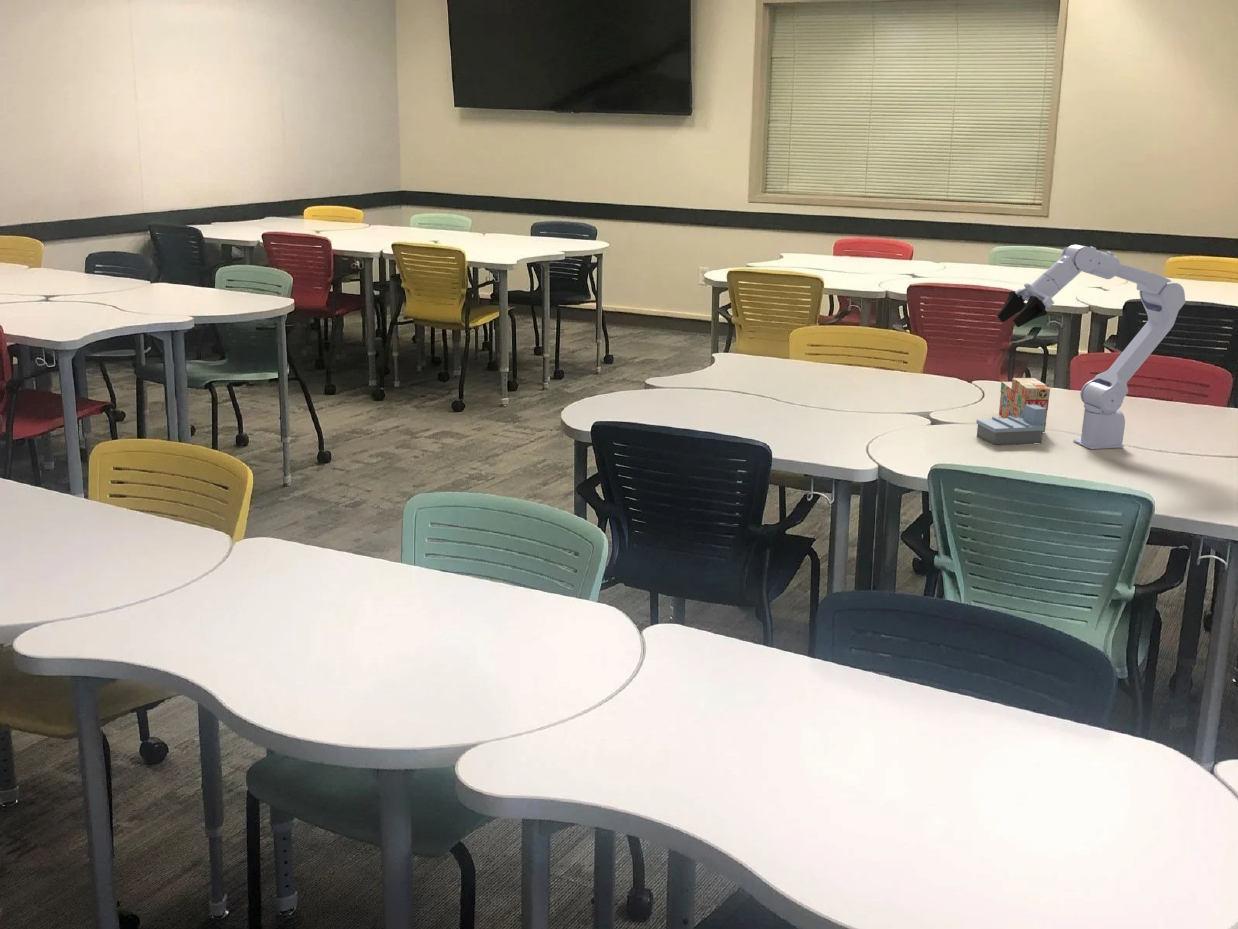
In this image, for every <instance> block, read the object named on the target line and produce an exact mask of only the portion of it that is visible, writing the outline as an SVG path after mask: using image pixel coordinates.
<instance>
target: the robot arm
mask: <svg viewBox="0 0 1238 929" xmlns="http://www.w3.org/2000/svg"><path fill="white" fill-rule="evenodd" d="M1080 273H1085V274H1089V275H1092V276H1096V277H1098V278H1102V279H1105V280H1111V279H1113V278H1115V277H1117V278H1120V279H1123V280H1125V281H1128V282H1131V283H1133V284H1136V290H1137V291H1139V298H1140V301H1141V303H1142V304H1143V305H1142V306H1143V307H1144V309H1145V312H1146V314H1147V315H1146V316H1147V321H1146V323H1145V324H1144V325H1143V326H1142V327H1141V329H1140V330H1139V331H1138V332H1137V334H1136V335H1135V336H1134V337H1133V339H1132V340H1131V341H1130V342H1129V343H1128V345H1127V346H1126V347H1125V349H1124V350H1123V351H1122V352H1121V354H1119V356H1118V357H1117V358H1116V359H1115V361H1114V362H1113V363H1111V366H1110V367H1109V368H1108V369H1107V370H1105V371H1103V372H1100V373H1098V374H1096V376H1095V375H1094V376H1095V377H1093V378H1092V379H1090V380H1089V381H1087V382H1086V383H1085V384H1083V386H1082V387H1081V390H1080V395H1079V396H1080V400H1081V401H1082V403H1083V408H1084V410H1083V419H1082V428H1081V436H1080V438H1075V439H1072V440H1073V442H1074V443H1077V444H1079V445H1080V446H1084V447H1086V448H1087V449H1090V450H1097V449H1099V450H1100V449H1115V448H1116V449H1117V448H1119V449H1120V448H1124V447H1125V445H1124V444H1123V442H1124V435H1125V434H1124V433H1125V429H1126V428H1125V426H1126V425H1125V424H1126V419H1125V414H1124V413H1123V412H1122V411H1121V410H1119V409H1120V408H1121V407H1122V405H1123V403H1124V399H1125V397H1126V396H1127V394H1128V393H1129V388H1128V382H1129V381H1130V380H1131V378H1132V377H1133V376H1134V375H1135V374H1136V372H1137V371H1138V370H1139V369H1140V368H1141V366H1142V365H1143V364H1144V363H1145V361H1146V360H1147V359H1149V356H1150V355H1151V354H1152V353H1153V351H1155V349H1156V348H1157V347H1158V345H1160V343H1161V342H1162V341H1163V340H1164V338H1165V337H1166V335H1167V334H1169V332H1170V331H1171V329H1172V328H1173V327H1174V325H1175V322H1176V320H1177V316H1178V314H1179V311H1180V310H1181V309H1182V308H1183V306H1184V305H1185V304H1186V294H1185V289H1184V287H1183V286H1182V285H1181V284H1180V283H1178V282H1172V280H1171V279H1169V278H1166V277H1164V276H1162V275H1159V274H1156V273H1154V272H1152V271H1151V272H1150V271H1147V270H1144V269H1141V268H1137V267H1134V266H1130V265H1126V264H1123V263H1121V260H1120V259H1119V257H1118V256H1116V255H1115V252H1112V251H1106V252H1103V251H1100V250H1097V247H1094V246H1086V245H1081V244H1071V245H1070V246H1068V247H1067V246H1066V247H1064V249H1063V250H1062V253H1061V255H1060V258H1059V259H1058V260H1056V262H1054V263H1053V264H1052V265H1051V266H1050V267H1049V268H1048V269H1047V270H1045V271H1044V273H1042V274H1041V275H1039V277H1037V278H1036V279H1035V280H1034V281H1033V282H1032V283H1031V284H1030V283H1027V282H1026V283H1025V284H1024V285H1023V287H1024V288H1022V289H1021V288H1018V289H1017V290H1016V291H1013V290H1011V291H1010V292H1009V293H1008V296H1007V300H1006V301H1005V303H1004V305H1003V306H1002V308H1001V309H1000V311H999V312H998V313H997V315H996V317H997V319H999V322H1001V323H1004V322H1006V321H1007V320H1009V319H1011V318H1012V317H1013V316H1014V317H1013V319H1012V322H1013V323H1014V325H1015V326H1016V327H1017V328H1020V327H1021V326H1023V325H1025V324H1028V323H1029V322H1030V321H1032V320H1033V321H1034V320H1035V319H1037V318H1040V317H1044V316H1047V315H1048V312H1047V310H1046V309H1049V308H1051V307H1052V306H1053V305H1054V304H1055V302H1054V300H1053V298H1054V297H1055V296H1056V295H1057V294H1059V292H1060V291H1062V290H1063V289H1064V288H1065V287H1066V286H1067V285H1068V284H1070V283H1071V281H1073V280H1074V279H1075V278H1076V277H1077V276H1078V275H1079V274H1080ZM1025 302H1026V303H1025Z"/></svg>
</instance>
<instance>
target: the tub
mask: <svg viewBox="0 0 1238 929" xmlns="http://www.w3.org/2000/svg"><path fill="white" fill-rule="evenodd" d="M1042 432H1043V431H1020V432H998V433H995V432H993V431H991V430H989V429H987V428H985V427H983V426H981V425H979V424H977V429H976V438H979V440H982V441H984V442H985V443H988V444H990V445H992V446H994V447H995V446H996V447H997V446H998V447H999V446H1018V445H1020V446H1021V445H1035V444H1034V443H1041V444H1042V441H1043V433H1042Z"/></svg>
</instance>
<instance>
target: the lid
mask: <svg viewBox="0 0 1238 929" xmlns="http://www.w3.org/2000/svg"><path fill="white" fill-rule="evenodd" d="M1045 414H1046V409H1045V408H1043V407H1041V406H1038V405H1036V404H1031V405H1025V409H1024V418H1014V417H1011V416H1008V418H1003V417H1002V418H1001V417H1000V418H999V417H996V416H992V417H991V418H985V419H984V418H982V419H979V418H977V419H976V423H975V424H977V425H978V424H979V425H981V426H983V427H985V428H987V429H989V430H991V431H993V432H995V433H998V432H1020V431H1043V430H1045V431H1046V427H1045V426H1043V425H1040V424H1044V423H1045Z"/></svg>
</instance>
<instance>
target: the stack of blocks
mask: <svg viewBox="0 0 1238 929" xmlns="http://www.w3.org/2000/svg"><path fill="white" fill-rule="evenodd" d="M1011 380H1012V381H1001V383H1000V385H1001V386H1000V396H999V398H1000V400H999V410H998V414H999V415H1000V416H1001V417H1002V418H1008V416H1011V417H1014V418H1024V409H1025V405H1031V404H1036V405H1038V406H1041V407H1043V408H1045V409H1046V414H1045V423H1044V424H1040V425H1043V426H1045V428H1046V427H1047V426H1046V425H1047V418H1048V410H1049V402H1050V401H1049V400H1050V394H1051V388H1050V387H1049V386H1047V384H1046V383H1043V382H1042V381H1040V380H1038V379H1037V378H1036V377H1012V379H1011ZM1043 432H1045V433H1046V429H1045V430H1043Z"/></svg>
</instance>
